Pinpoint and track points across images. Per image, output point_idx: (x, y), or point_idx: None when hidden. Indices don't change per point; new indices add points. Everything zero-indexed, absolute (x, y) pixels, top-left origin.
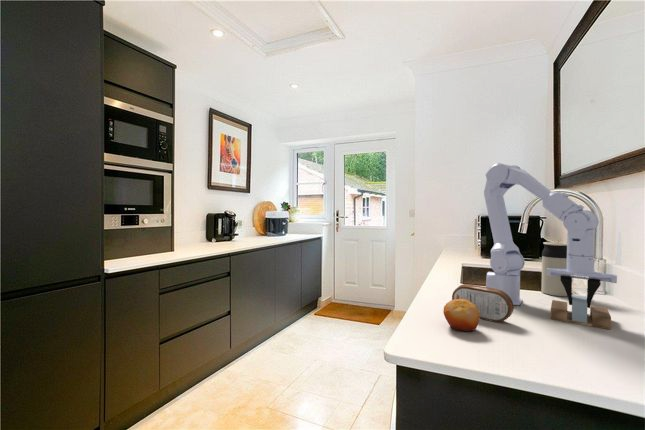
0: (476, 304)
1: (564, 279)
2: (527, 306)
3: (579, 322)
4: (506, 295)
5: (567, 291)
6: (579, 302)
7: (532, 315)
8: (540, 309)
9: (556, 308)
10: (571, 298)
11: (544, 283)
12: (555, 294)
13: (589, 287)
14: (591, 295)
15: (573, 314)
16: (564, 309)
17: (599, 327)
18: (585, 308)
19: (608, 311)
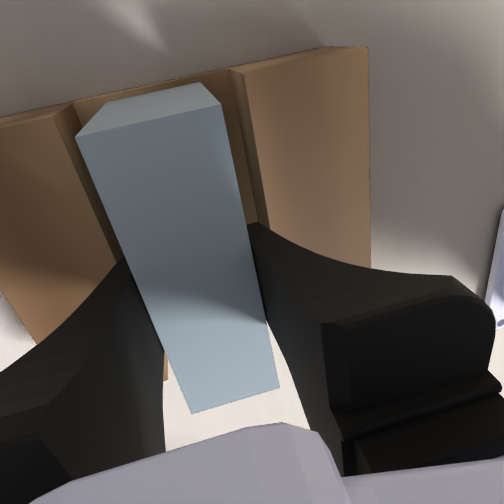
0: None
1: (439, 362)
2: (457, 241)
3: (152, 86)
4: None
5: (313, 260)
6: (152, 118)
7: (435, 35)
8: (394, 240)
9: (326, 66)
10: (257, 243)
11: None
12: None
13: (64, 368)
14: (80, 319)
15: (195, 90)
16: (268, 91)
17: (31, 110)
18: (101, 121)
19: (27, 328)
